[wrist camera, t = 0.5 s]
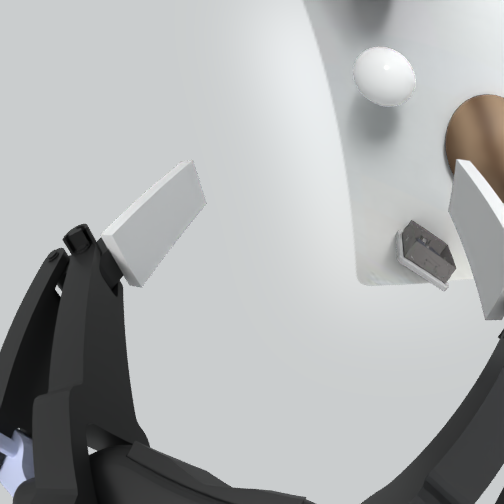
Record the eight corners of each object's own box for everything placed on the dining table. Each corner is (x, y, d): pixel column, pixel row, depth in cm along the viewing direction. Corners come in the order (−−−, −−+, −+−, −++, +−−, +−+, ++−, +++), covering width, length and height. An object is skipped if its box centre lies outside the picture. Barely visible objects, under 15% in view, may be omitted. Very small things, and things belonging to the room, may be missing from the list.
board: (505, 75, 16) (507, 76, 15) (550, 175, 18) (552, 178, 18) (424, 128, 28) (424, 130, 27) (475, 215, 30) (476, 218, 30)
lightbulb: (363, 87, 28) (346, 105, 22) (364, 42, 24) (347, 42, 18) (411, 98, 26) (412, 120, 20) (415, 52, 21) (419, 55, 15)
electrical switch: (395, 232, 41) (390, 269, 35) (411, 208, 37) (410, 243, 31) (437, 260, 39) (438, 299, 33) (455, 239, 35) (461, 278, 29)
